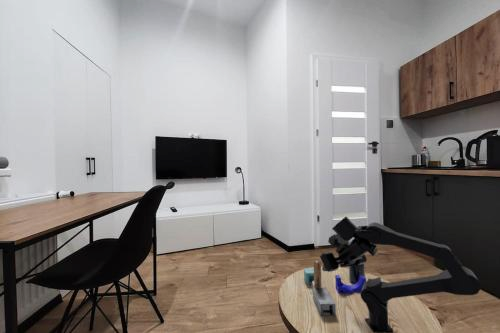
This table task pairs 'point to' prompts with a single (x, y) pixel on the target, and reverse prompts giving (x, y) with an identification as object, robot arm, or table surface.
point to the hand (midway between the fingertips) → (332, 267)
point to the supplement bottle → (356, 272)
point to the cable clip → (349, 288)
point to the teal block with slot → (309, 275)
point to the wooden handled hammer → (318, 279)
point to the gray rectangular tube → (324, 301)
